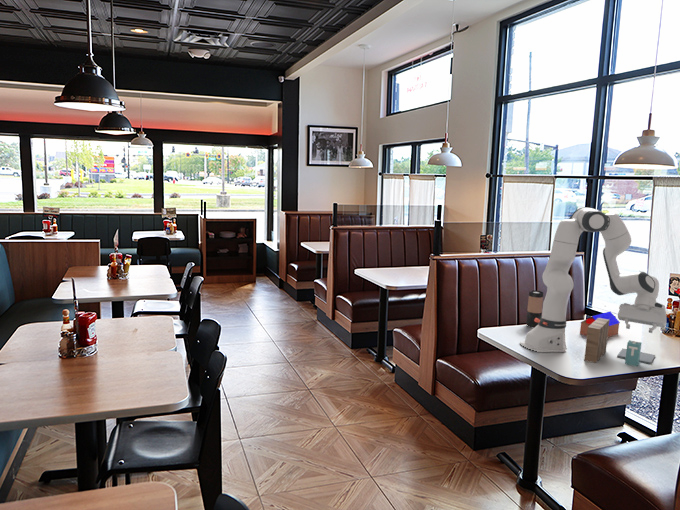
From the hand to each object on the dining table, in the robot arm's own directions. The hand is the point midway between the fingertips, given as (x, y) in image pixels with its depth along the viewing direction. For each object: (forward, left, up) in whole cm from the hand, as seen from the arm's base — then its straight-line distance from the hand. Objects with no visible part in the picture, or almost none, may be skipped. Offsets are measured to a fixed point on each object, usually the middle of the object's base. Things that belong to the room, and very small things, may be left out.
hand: (638, 330), depth 245 cm
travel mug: (-13, +56, -14) cm, 60 cm away
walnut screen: (-17, +7, -14) cm, 23 cm away
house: (+13, +35, -14) cm, 40 cm away
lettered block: (-8, -6, -14) cm, 17 cm away
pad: (+2, +1, -14) cm, 14 cm away
